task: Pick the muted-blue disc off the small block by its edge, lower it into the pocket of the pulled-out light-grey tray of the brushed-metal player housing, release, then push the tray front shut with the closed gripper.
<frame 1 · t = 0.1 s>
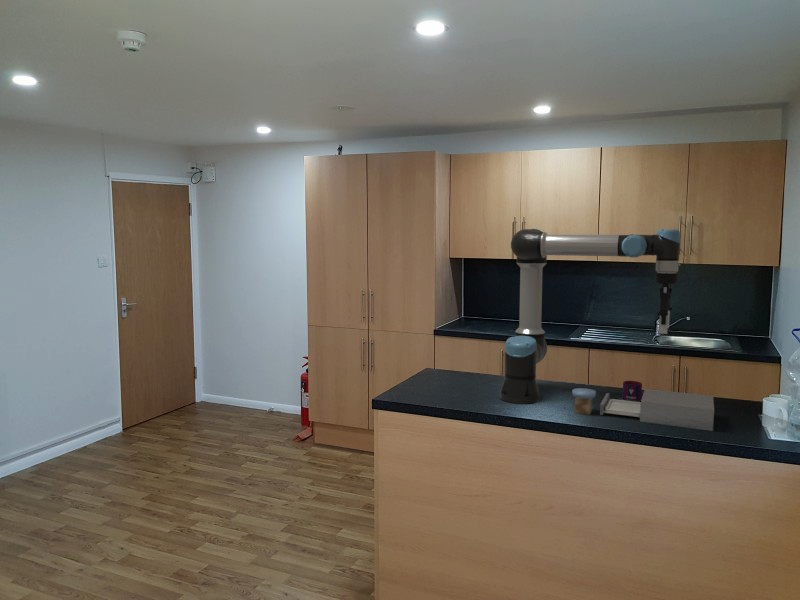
hand: (663, 330, 220), 28 cm above the countertop, fingers open, 13 cm apart
block: (583, 411, 215), on the countertop
tray: (629, 406, 214), point 2 cm above the countertop, slide at 12.0 cm
mug: (632, 399, 232), on the countertop
housing: (676, 418, 208), on the countertop
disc: (584, 395, 215), point 6 cm above the countertop, touching block
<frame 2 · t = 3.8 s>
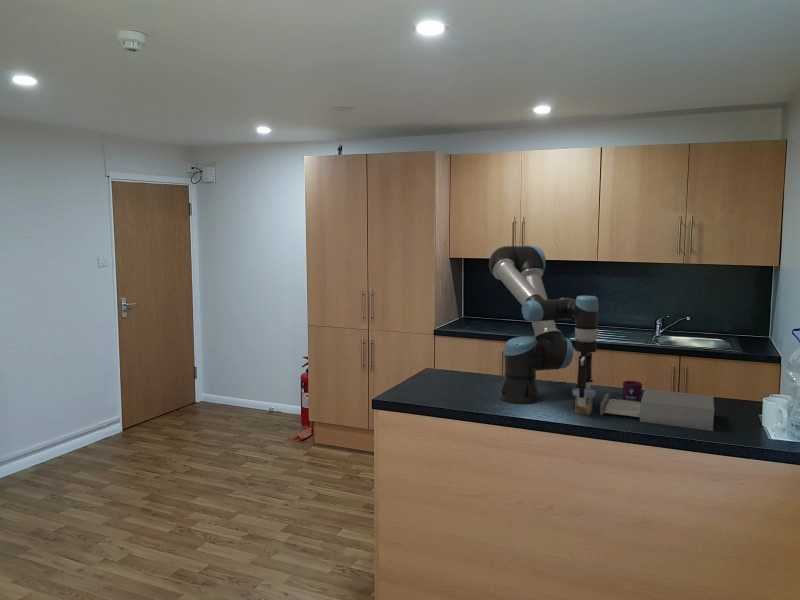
hand: (583, 402, 215), 3 cm above the countertop, fingers closed on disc, 8 cm apart
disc: (584, 395, 215), point 6 cm above the countertop, touching gripper, block
everything else where it was.
when the fingers open (2 cm above the countertop, at t = 8.6 s): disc drops 3 cm, resting on tray.
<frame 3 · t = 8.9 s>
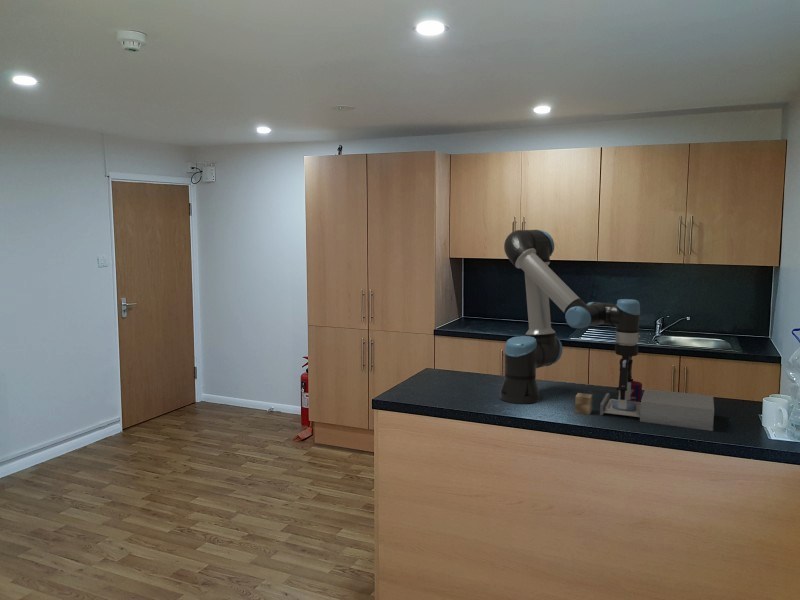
hand: (624, 403, 215), 3 cm above the countertop, fingers open, 11 cm apart
tray: (629, 406, 214), point 2 cm above the countertop, slide at 12.0 cm, touching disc
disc: (624, 408, 215), point 1 cm above the countertop, touching tray
everything else where it was.
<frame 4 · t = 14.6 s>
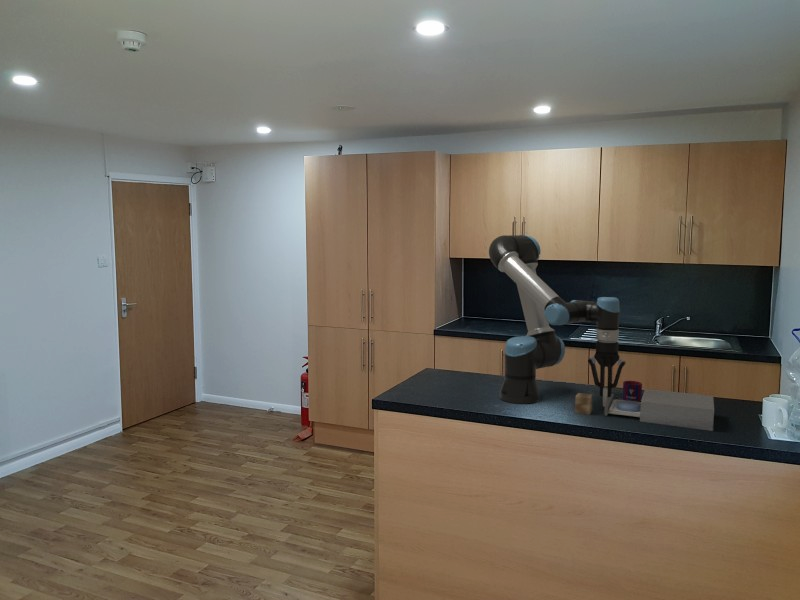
hand: (605, 405, 217), 2 cm above the countertop, fingers closed
tray: (633, 407, 213), point 2 cm above the countertop, slide at 10.5 cm, touching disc, gripper
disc: (628, 408, 214), point 1 cm above the countertop, touching tray
everything else where it was.
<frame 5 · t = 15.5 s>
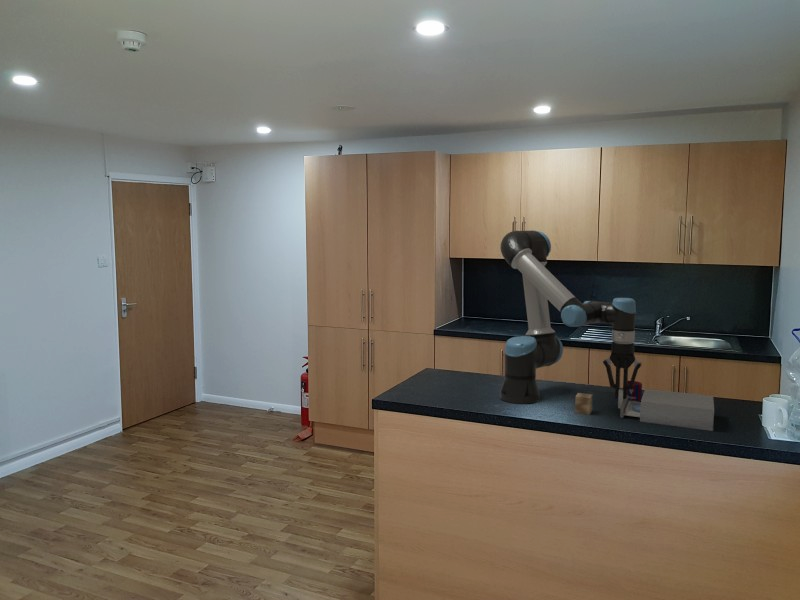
hand: (620, 407, 215), 2 cm above the countertop, fingers closed
tray: (649, 409, 211), point 2 cm above the countertop, slide at 5.3 cm, touching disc, gripper
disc: (644, 410, 212), point 1 cm above the countertop, touching tray
everything else where it was.
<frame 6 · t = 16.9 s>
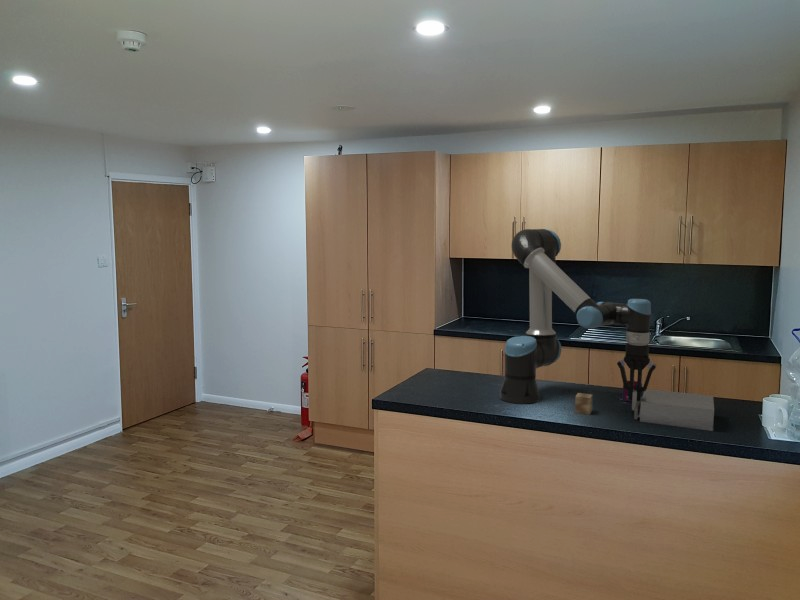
hand: (634, 409, 213), 1 cm above the countertop, fingers closed
tray: (663, 410, 209), point 2 cm above the countertop, slide at 0.8 cm, touching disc
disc: (658, 412, 210), point 1 cm above the countertop, touching tray
everything else where it was.
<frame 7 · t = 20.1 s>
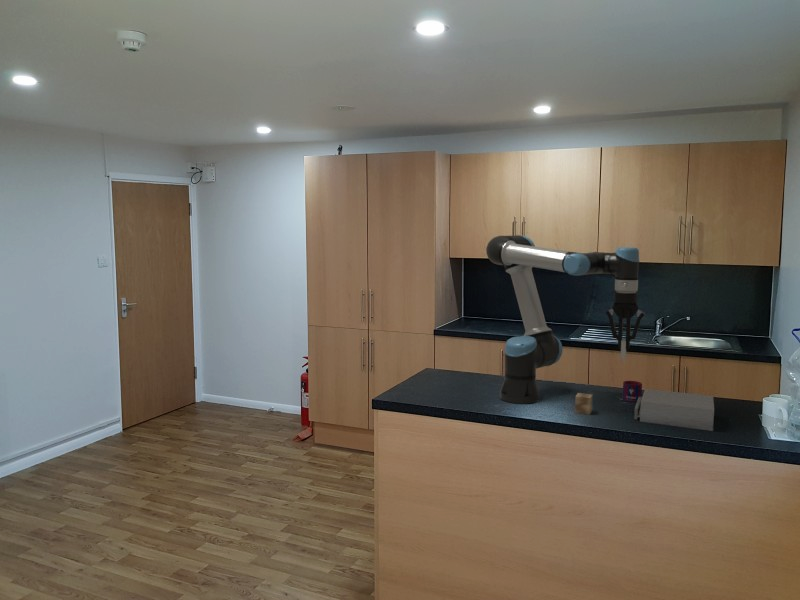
hand: (623, 358, 213), 19 cm above the countertop, fingers closed
nothing on the countertop moved.
at the end: tray slide at 0.8 cm; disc inside the target area on the housing (5.8 cm from its centre), point 1.5 cm above the housing's base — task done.
